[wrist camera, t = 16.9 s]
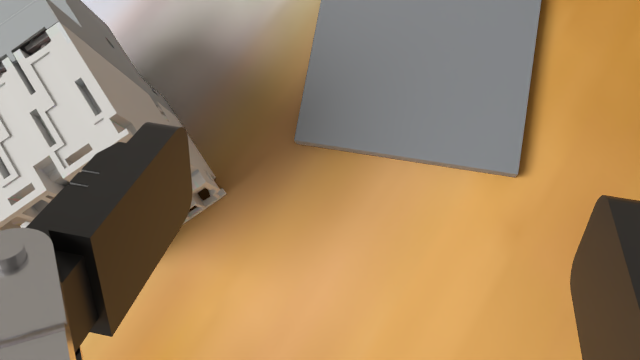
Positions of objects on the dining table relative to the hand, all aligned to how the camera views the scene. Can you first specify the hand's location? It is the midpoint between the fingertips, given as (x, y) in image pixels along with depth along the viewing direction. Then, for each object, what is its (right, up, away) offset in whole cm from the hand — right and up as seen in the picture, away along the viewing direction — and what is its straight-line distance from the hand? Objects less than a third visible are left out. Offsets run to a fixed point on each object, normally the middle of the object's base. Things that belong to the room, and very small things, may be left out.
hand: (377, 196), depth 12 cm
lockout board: (+6, +12, +29) cm, 32 cm away
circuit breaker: (-14, +3, +30) cm, 33 cm away
